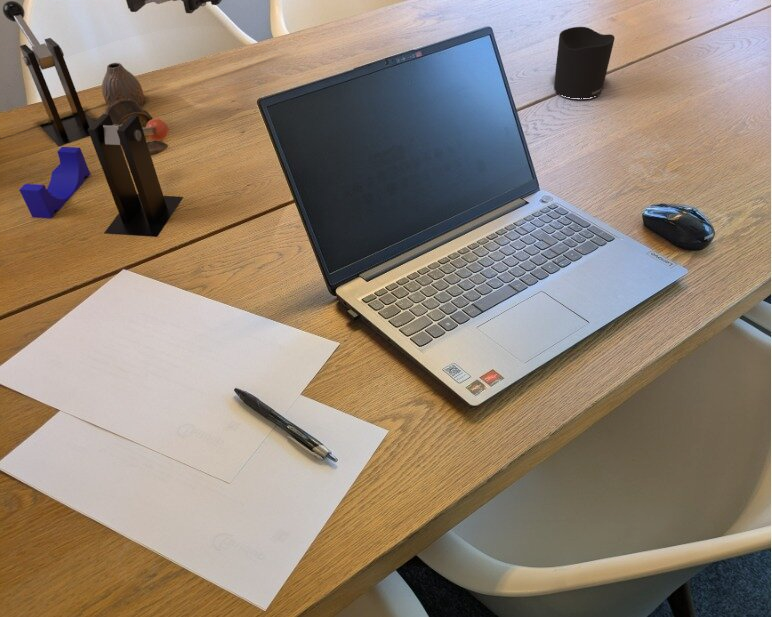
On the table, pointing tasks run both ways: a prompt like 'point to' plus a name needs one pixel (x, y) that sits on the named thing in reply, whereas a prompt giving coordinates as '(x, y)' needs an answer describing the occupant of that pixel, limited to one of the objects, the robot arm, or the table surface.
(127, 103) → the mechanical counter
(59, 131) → the back bracket
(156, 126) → the front lever
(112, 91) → the vase
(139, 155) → the front bracket
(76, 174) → the blue curved cradle
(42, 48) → the back lever
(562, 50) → the pen holder
